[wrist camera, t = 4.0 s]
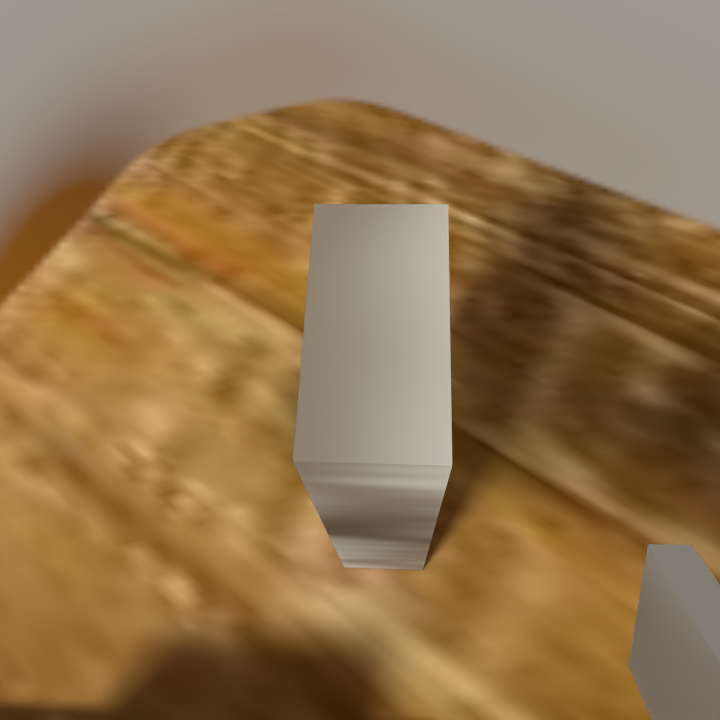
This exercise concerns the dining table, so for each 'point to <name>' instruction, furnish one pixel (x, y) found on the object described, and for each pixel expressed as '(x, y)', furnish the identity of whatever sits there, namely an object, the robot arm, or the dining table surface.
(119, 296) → the dining table surface
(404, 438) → the slat
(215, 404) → the dining table surface
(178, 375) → the dining table surface
